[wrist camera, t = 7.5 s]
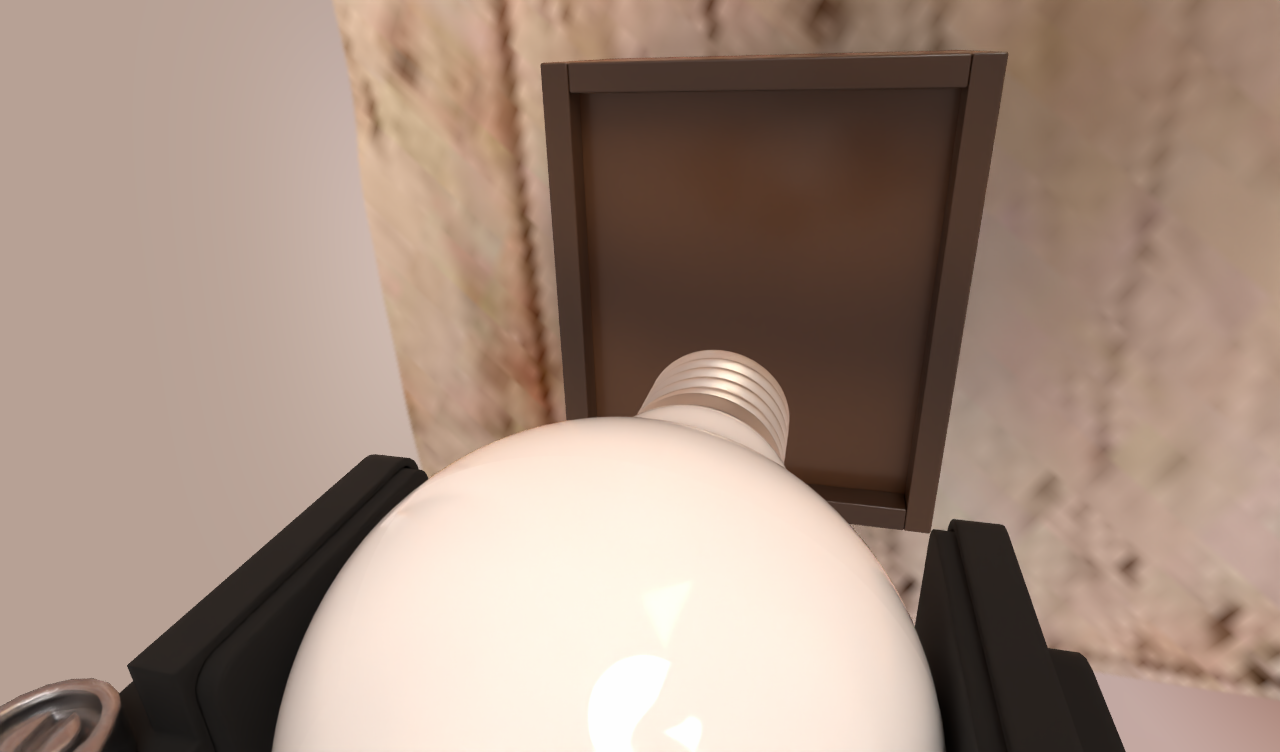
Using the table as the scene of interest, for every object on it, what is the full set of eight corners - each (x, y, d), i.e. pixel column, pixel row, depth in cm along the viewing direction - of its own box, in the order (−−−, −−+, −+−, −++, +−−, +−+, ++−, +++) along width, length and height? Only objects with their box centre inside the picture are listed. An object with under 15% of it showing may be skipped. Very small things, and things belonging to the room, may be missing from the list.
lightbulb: (585, 210, 14) (-55, 628, 4) (938, 281, 13) (1270, 1088, 3) (556, 491, 16) (140, 1146, 7) (843, 568, 15) (846, 1473, 6)
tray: (609, 58, 27) (539, 63, 20) (965, 49, 24) (1009, 51, 18) (622, 406, 32) (571, 492, 26) (911, 431, 30) (930, 533, 23)
